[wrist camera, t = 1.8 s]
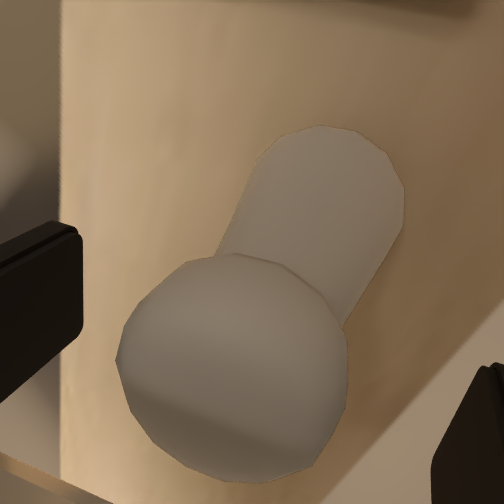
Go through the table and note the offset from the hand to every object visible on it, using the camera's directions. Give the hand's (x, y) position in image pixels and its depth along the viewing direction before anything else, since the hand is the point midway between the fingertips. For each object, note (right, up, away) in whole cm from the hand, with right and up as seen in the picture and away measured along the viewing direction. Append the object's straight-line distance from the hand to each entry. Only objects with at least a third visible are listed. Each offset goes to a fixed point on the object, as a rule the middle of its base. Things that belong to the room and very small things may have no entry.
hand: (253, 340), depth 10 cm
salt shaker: (+3, +5, +8) cm, 10 cm away
